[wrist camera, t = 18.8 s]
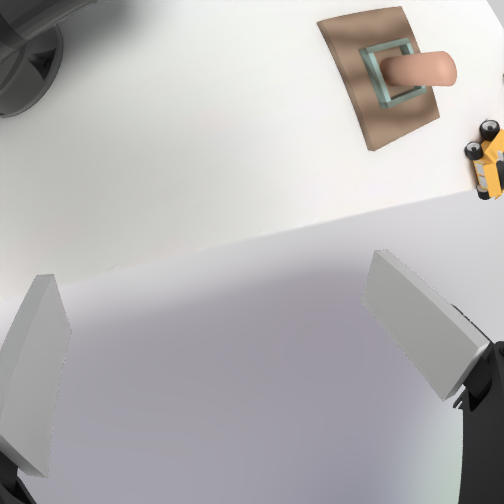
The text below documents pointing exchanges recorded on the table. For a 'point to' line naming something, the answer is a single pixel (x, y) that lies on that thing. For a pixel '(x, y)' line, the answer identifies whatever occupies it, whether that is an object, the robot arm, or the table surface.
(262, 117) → the table surface
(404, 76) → the pink rounded cylinder
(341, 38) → the jig board
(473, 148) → the race car
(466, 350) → the robot arm
